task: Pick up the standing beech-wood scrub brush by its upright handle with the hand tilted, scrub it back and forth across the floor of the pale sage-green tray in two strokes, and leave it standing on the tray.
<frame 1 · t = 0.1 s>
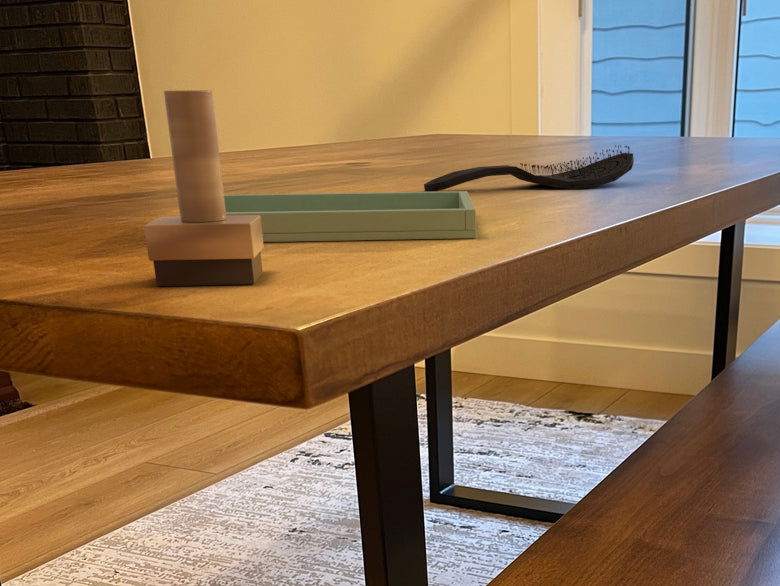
hairbrush: (531, 189, 111), on the table
tray: (338, 228, 81), on the table
scrub brush: (211, 279, 60), on the table
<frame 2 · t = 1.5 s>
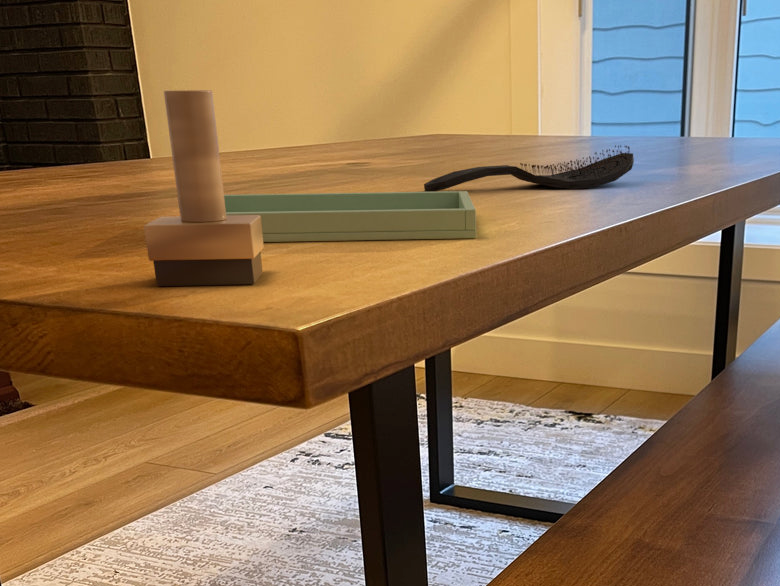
nothing on the table moved.
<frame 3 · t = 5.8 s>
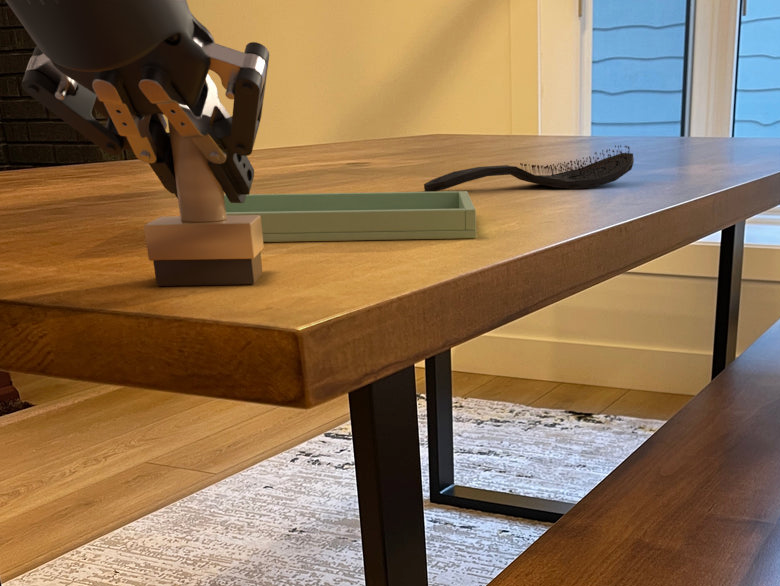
hand: (215, 190, 60), 5 cm above the table, tool tilted 45°, fingers closed on scrub brush, 2 cm apart
scrub brush: (211, 279, 60), on the table, touching gripper
everything else where it was.
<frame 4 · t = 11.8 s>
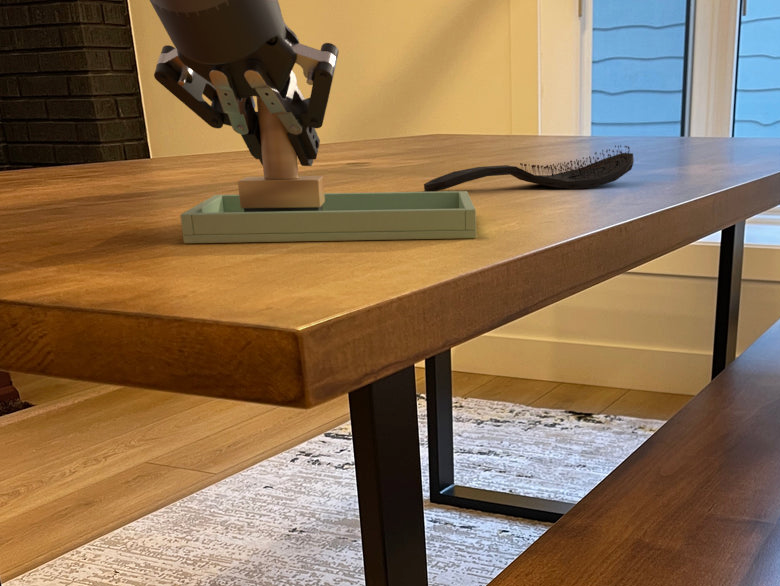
hand: (289, 156, 78), 6 cm above the table, tool tilted 45°, fingers closed on scrub brush, 2 cm apart
scrub brush: (285, 225, 78), point 1 cm above the table, touching gripper, tray
everything else where it was.
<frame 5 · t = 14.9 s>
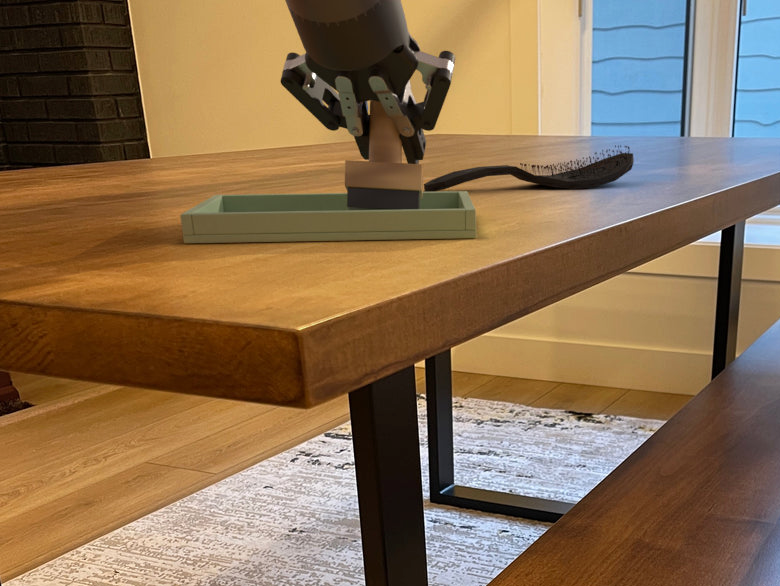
hand: (396, 157, 83), 5 cm above the table, tool tilted 45°, fingers closed on scrub brush, 2 cm apart
scrub brush: (384, 212, 80), point 1 cm above the table, tilted 16°, touching gripper
everything else where it was.
when the fingers open (5 cm above the table, at t = 17.9 s): scrub brush stays where it is, resting on tray.
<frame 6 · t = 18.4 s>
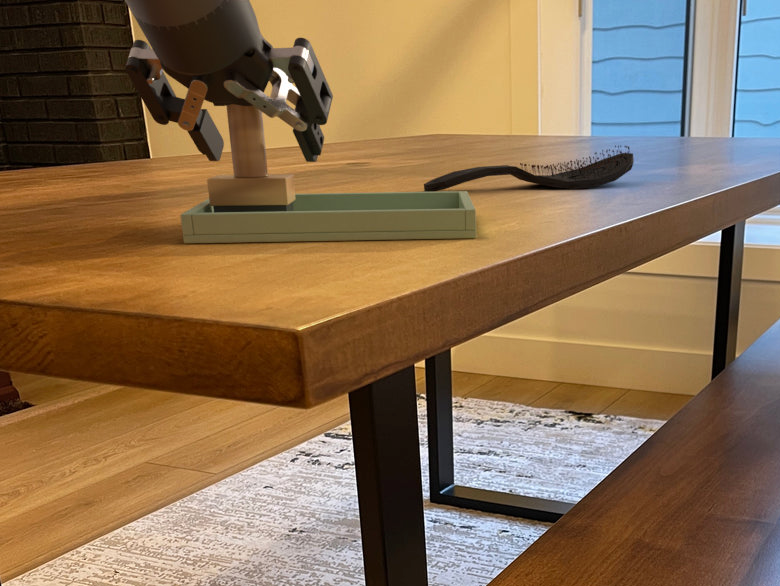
hand: (265, 153, 81), 6 cm above the table, tool tilted 45°, fingers open, 8 cm apart
scrub brush: (255, 222, 80), point 1 cm above the table, touching tray
everything else where it was.
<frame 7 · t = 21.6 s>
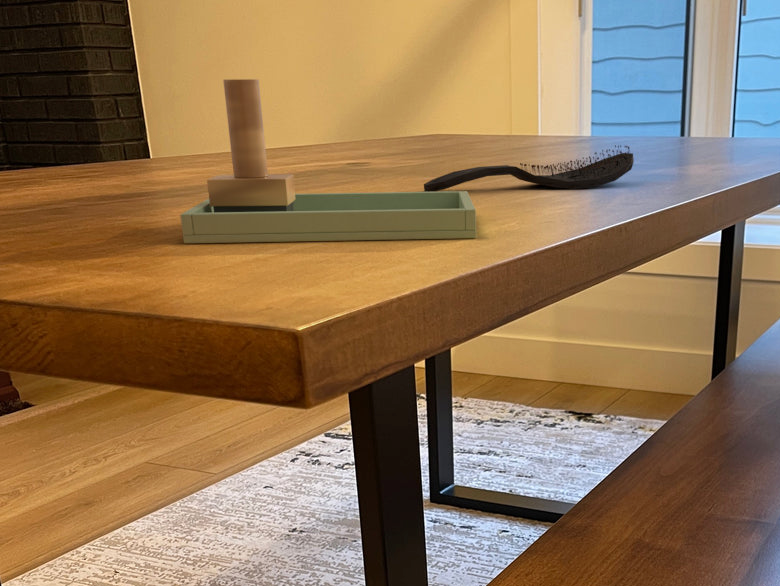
nothing on the table moved.
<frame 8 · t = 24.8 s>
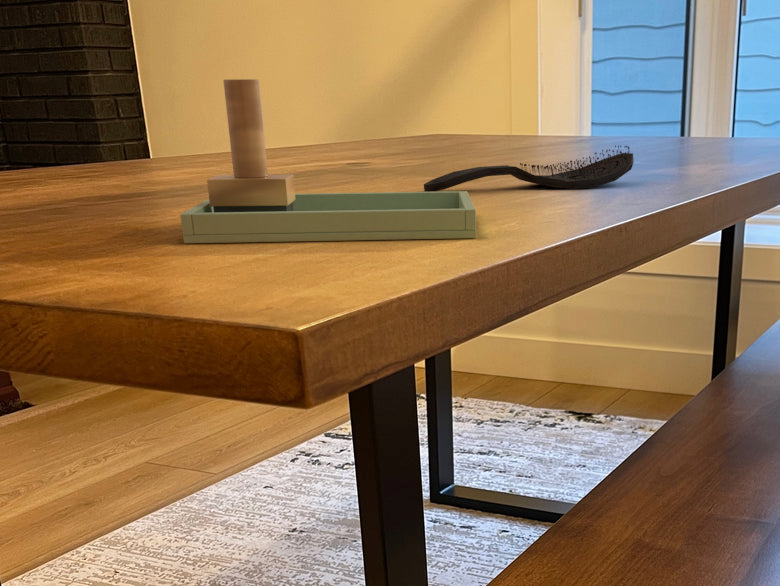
nothing on the table moved.
at the end: scrub brush inside the target area in the tray (6.4 cm from its centre), point 0.6 cm above the tray's base; scrub brush tilted 0°; the gripper is holding nothing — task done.
